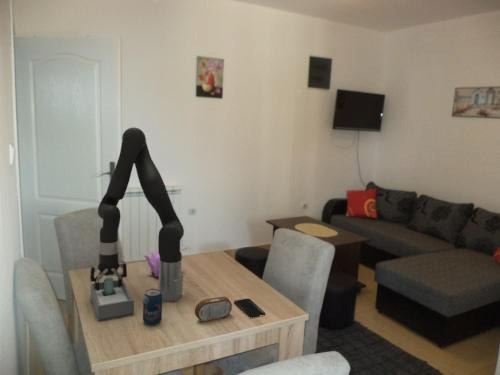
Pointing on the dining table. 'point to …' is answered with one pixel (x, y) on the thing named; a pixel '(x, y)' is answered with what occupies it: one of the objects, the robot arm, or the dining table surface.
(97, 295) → the bin
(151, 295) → the soda can
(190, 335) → the dining table surface
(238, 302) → the phone
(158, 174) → the robot arm
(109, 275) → the lighter
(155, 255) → the teapot
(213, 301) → the bluetooth speaker
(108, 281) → the peg
